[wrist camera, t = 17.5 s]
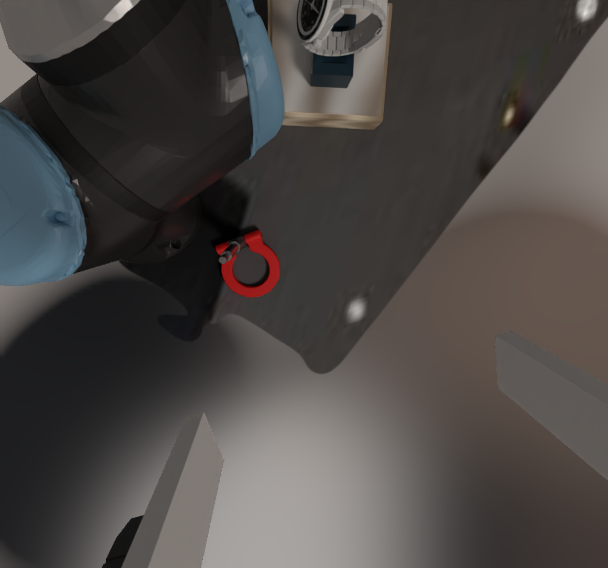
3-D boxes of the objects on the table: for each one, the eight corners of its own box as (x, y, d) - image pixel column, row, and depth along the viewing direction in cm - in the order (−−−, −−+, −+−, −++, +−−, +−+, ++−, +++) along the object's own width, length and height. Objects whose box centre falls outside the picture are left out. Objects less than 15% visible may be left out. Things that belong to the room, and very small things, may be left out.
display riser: (269, 124, 38) (268, 114, 34) (269, 15, 35) (267, -10, 31) (373, 129, 39) (383, 120, 35) (381, 23, 36) (393, 1, 32)
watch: (294, 29, 32) (299, -63, 21) (364, 33, 32) (404, -53, 22) (293, 86, 33) (298, 27, 23) (361, 90, 34) (397, 33, 23)
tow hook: (288, 283, 44) (264, 225, 41) (290, 317, 31) (258, 238, 28) (236, 302, 44) (210, 246, 41) (219, 343, 32) (180, 267, 29)
